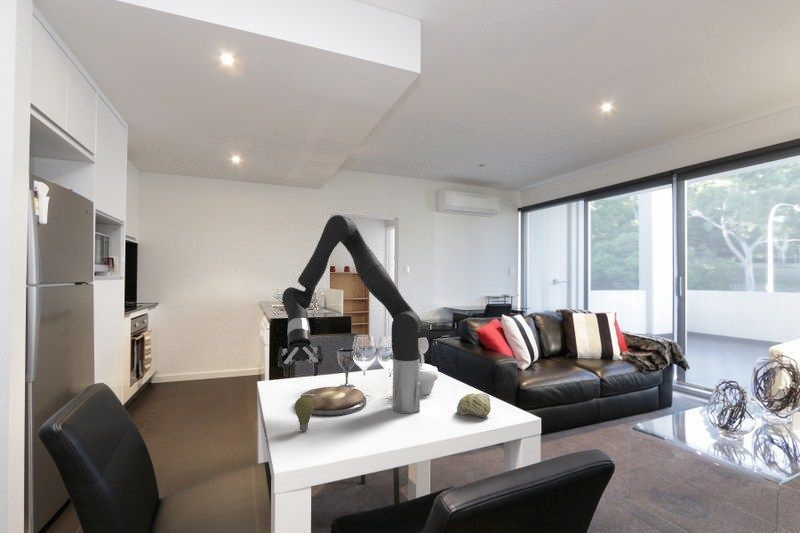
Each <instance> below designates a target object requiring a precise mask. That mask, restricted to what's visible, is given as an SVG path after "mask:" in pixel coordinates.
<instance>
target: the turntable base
mask: <svg viewBox="0 0 800 533" xmlns="http://www.w3.org/2000/svg"><path fill="white" fill-rule="evenodd" d="M365 407H367V397H366V396H365V395H364V399H363V401H362V403H360V404H358V405H356V406H354V407H350V408H346V409H340V410H316V409H314V410H313V412H312V414H311V416H314V417H325V418H326V417H339V416H346V415H351V414H354V413H357V412H359V411H362V410H363V409H364V408H365Z"/></svg>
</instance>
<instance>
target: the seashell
mask: <svg viewBox="0 0 800 533" xmlns="http://www.w3.org/2000/svg"><path fill="white" fill-rule="evenodd" d="M491 407H492V406H491V397H490V396H489V394H488V393H483V392H480V393H468V394H465V395H464V396H463V397H461V398H460V400H459V402H458V403H457V406H456V411H457V414H458V416H464V415H467V414H471V415H474V416H475V417H476V416H477V417H480V418H484V417H487V416H488V415H489V414H490V412H491Z"/></svg>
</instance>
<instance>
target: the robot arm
mask: <svg viewBox="0 0 800 533" xmlns="http://www.w3.org/2000/svg"><path fill="white" fill-rule="evenodd" d="M340 243H341V244H342V245H343V246H344V247H345V249H346V250H347V252H348V253H349V254H350V257H351V258H352V261H353V264H354V267H355V270H356V273H357V275H358V277H359V279H360V281H361V282H362V283H363V284H364V286H365V287H366V289H367V290H368V292H369V293H370V294H371V295H372V296H374V298H375V299H377V301H378V302H380V303H381V304H382V305H383V307H384V308H385V309H386V310H387V312H388V313H389V315H390V317H391V319H392V322H391V329H390V330H391V336H390V337H391V338H390V339H391V351H392V403H391V404H392V406H391V407H392V410H393V412H394V411H395V412H396V413H402V414H411V413H417V412H421V410H420V408H421V406H420V405H421V404H420V403H421V395H420V382H419V374H420V363H421V355H420V351H419V348H418V339H419V333H420V332H421V329H422V321H421V318H420V316H419V315H418V314H417V313H416V312H415V310H414V309H413V307H411V306H410V305H409V302H408V301H406V300H405V298H404V297H403V295H402V294H401V293H400V290H399V289H398V287H397V285H396V284H395V282H394V281H393V279H392V277H391V276H390V275H389V273H388V272H387V270H386V268H385V267H384V265H383V264H382V263H381V261H380V260H379V259H378V257H377V255H375V253H374V252H373V250H372V249H371V248H370V247H369V246H368V244H367V243H366V241H365V239H364V237H363V236H362V234H361V232H360V230H359V228H358V226H357V224H356V223H355V222H354V220H352V219H351V218H350V217H347V216H344V215H341V214H335V215H333V216H331V217H330V218H329V219H328V220H327V221H326V223H325V226H324V228H323V231H322V233H321V236H320V238H319V240H318V243H317V245H316V247H315V249H314V251H313V254H312V255H311V257H310V258H309V260H308V263H307V264H306V266H305V267H304V269H303V271H302V272H301V273H300V275H299V277H298V280H297V281H298V283H299V284H300V285H301V286H302V287H303V288H304V290H301V289H299V288H296V287H293V286H291V287H290V286H289V287H287V288H286V289H284V291H283V293H282V297H281V298H282V305H283V307H284V311H285V313H286V315H287V334H286V335H287V348H283V347H281V346H280V347H278V355H277V356H278V357H277V366H278V368H281V367H282V368H283V377H285V378H286V379H289V376H290V373H289V372H290V370H289V369H290V368H289V367H290V365H291V364H292V363H293V362H294V361H295V362H300V361H302V362H304V361H307V362H308V363H309V364H312V371H313V372H312V373H313V376H314V377H316V376H317V375H318V373H319V365H323V362H324V353H323V350H322V346H321V345H320V344H318V345H317V347H316V346H315V347H313V346H312V338H311V327H310V321H309V312H308V310H307V309H308V308H309V307H310V306H311V304H312V300H313V296H314V293H315V290H316V288H317V286H318V284H319V282H320V281H321V279H322V278H323V276H324V274H325V272H326V270H327V267H328V264H329V260H330V258H331V255H332V253H333V251H334V249H335V248H336V247H337V246H338V244H340ZM313 352H314V353H315V354H316V355H317V357H315V355H314V354H313ZM286 354H287V355H288V356H287V358H286V359H285V360H283V357H284V356H285V355H286Z"/></svg>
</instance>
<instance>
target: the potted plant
mask: <svg viewBox="0 0 800 533" xmlns="http://www.w3.org/2000/svg"><path fill="white" fill-rule="evenodd" d="M435 343H436V345H437V344H438V342H437V340H436V341H435ZM432 344H433V346H435V345H434V342H433V343H432ZM429 345H430V344H429V341H428V339H427V337H418V348H419V351H420V374H419V382H420V396H427V395H429V394H431V393H432V391H433V388H434V386H435V382H436V381H437V380H438V373H439V372H438V371H439V370H438V368H437V366H433V365H431V364H428V363H425V356H424V355H425V354H426V352H427V351H428V349H430V348H429Z"/></svg>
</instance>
